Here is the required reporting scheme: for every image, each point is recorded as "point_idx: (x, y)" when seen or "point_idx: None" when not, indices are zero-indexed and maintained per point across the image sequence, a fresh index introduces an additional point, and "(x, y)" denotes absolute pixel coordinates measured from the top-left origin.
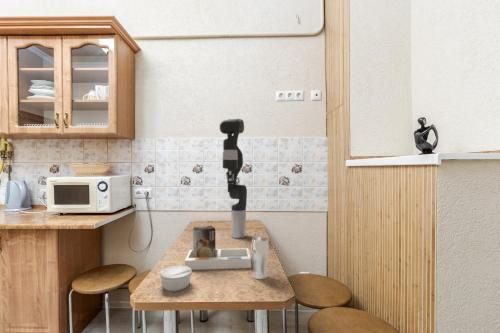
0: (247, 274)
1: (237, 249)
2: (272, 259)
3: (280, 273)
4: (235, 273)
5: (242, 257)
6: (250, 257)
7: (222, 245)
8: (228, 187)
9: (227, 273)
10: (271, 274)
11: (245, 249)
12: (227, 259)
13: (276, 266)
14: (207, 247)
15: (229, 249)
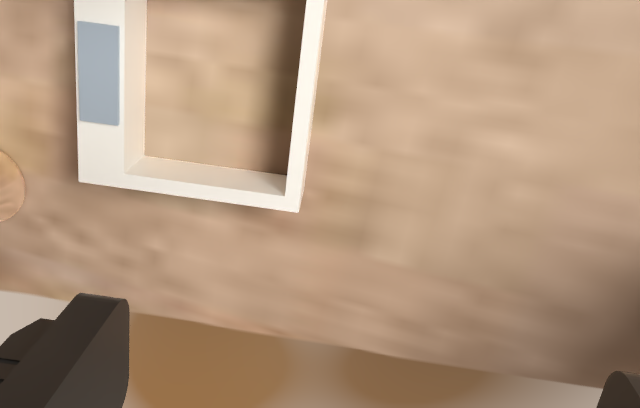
0: (11, 122)
1: (292, 130)
2: (223, 315)
3: (21, 291)
4: (26, 54)
5: (106, 132)
6: (102, 183)
7: (625, 39)
8: (14, 387)
9: (28, 4)
10: (9, 245)
11: (286, 188)
12: (74, 19)
13: None
14: None
15: (300, 67)
